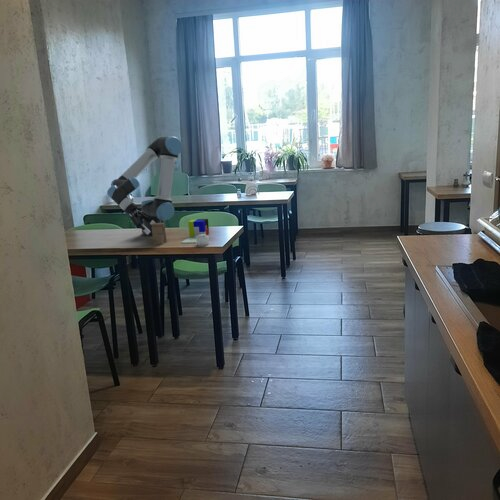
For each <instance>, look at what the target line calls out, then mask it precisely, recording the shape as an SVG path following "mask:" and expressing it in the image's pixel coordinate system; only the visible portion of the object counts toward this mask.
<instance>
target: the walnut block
mask: <svg viewBox="0 0 500 500" xmlns="http://www.w3.org/2000/svg"><path fill="white" fill-rule="evenodd" d="M151 226H152V235H151V236H152V241H153V242H152V244H153V245H164V244H166V243H167V233H166V225H165V222H161V223H154V224H152V225H151Z"/></svg>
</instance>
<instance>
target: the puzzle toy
mask: <svg viewBox="0 0 500 500" xmlns="http://www.w3.org/2000/svg"><path fill="white" fill-rule="evenodd" d="M187 222H188V224H187V225H188V233H189V234H188V235H189V237H196V236H198V235H200V234H206V235H208V236H209V234H210V228H209V227H210V225H209V218H193V219H192V220H189V221H187Z"/></svg>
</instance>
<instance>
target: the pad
mask: <svg viewBox="0 0 500 500" xmlns="http://www.w3.org/2000/svg"><path fill="white" fill-rule="evenodd" d="M210 239H211V237H209V236H208V240H210ZM180 243H181V244H197V242H196V237H190V236H189V237H187V238H186V239H184V240H182V241H181V242H180Z"/></svg>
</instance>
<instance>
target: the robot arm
mask: <svg viewBox="0 0 500 500" xmlns="http://www.w3.org/2000/svg"><path fill="white" fill-rule="evenodd" d="M182 151H183V143H182V141H181V139H179V138H178V137H176V136H173V135H172V136H171V135H169V136H161V137H158V138H156V139H155V140H154V141H152V143H150V144H149V145H148V146H147V147H146V149H145V152H143V153H142V154H141V155H140V157H138V158H137V159H136V160H135V161H134V162H133V163H132V164H131V165H129V168H127V169H126V170H125V171H124V172H123V173H122V174H121V175H120V176H119V177H118V178H115V179H113V180H112V181H111V183H110V187H109V188H108V189H107V190H106V191H107V192H106V194H107V195H108V197H109V198H110V199H111V200H113V202H114V203H116V204H117V205H118V206H119V208H120V209H122V211H124V212H125V214H127V215H128V217H129V218H130V220H131V221H132V223H133V224H134V226H135V228H137V229H140V230H141V235H142V236H152V226H151V225H152V224H154V223H162V221H167V220H170V219H171V218H172V217H173V216H174V214H175V206H174V205H173V199H172V198H171V195H172V186H173V180H174V172H175V164H176V161H177V160H178V159H179V158H178V157H179V154H180V153H182ZM159 158H161V163H160V168H159V169H160V170H159V178H158V184H157V185H158V186H157V192H156V193H157V195H156V196H155V197H154V199H147V200H142V201H141V206H140V207H141V208H140V209H138V206H137V204H135V202H133V200H132V199H130V197H129V195H130V194H131V193H133V192H135V190H137V189H138V188H139V187H140V182H139V181H138V179H137V178H138V176H140V175H141V173H142V172H144V170H146V169H147V168H148V167H149V165H150V164H152V163H153V161H155V160H158V159H159ZM141 219H142V220H143V221H142V222H143V223H142V222H141Z"/></svg>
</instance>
